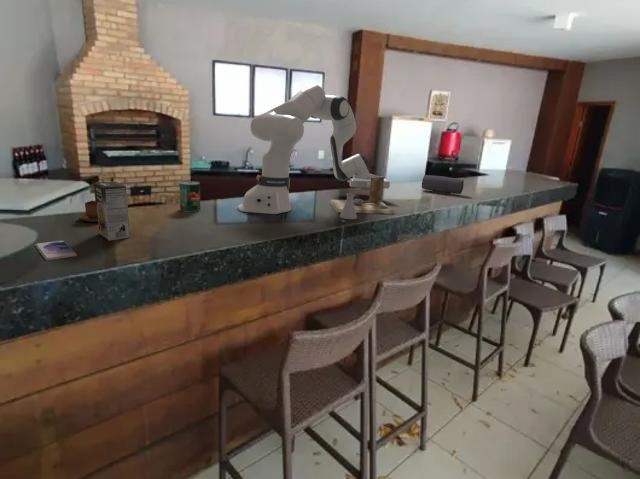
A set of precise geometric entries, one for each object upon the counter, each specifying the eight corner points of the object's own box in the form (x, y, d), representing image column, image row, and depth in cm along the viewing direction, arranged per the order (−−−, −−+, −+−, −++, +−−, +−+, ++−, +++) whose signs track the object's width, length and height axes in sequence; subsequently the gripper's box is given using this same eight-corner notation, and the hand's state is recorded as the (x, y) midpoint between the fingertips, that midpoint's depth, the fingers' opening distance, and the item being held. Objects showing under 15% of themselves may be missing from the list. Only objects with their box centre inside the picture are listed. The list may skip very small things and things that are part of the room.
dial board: (337, 212, 171) (337, 208, 171) (330, 202, 190) (330, 199, 190) (392, 213, 175) (393, 210, 174) (380, 204, 194) (380, 200, 193)
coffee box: (98, 233, 123) (92, 182, 118) (120, 230, 127) (115, 180, 123) (108, 241, 117) (102, 186, 112) (130, 237, 121) (126, 185, 116)
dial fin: (356, 205, 178) (359, 178, 175) (351, 203, 182) (353, 177, 178) (383, 203, 187) (386, 177, 183) (378, 201, 190) (380, 176, 187)
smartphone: (63, 240, 114) (77, 254, 104) (64, 242, 114) (77, 257, 104) (34, 243, 109) (45, 258, 99) (34, 246, 110) (45, 261, 99)
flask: (356, 220, 158) (358, 196, 156) (338, 219, 160) (340, 194, 157) (358, 216, 165) (360, 193, 162) (340, 215, 167) (342, 191, 164)
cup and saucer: (75, 218, 139) (73, 201, 137) (113, 214, 146) (111, 198, 145) (82, 226, 130) (80, 207, 128) (122, 221, 138) (120, 204, 136)
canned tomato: (197, 212, 156) (196, 184, 153) (177, 211, 156) (176, 183, 153) (202, 208, 164) (202, 181, 161) (183, 207, 164) (182, 180, 161)
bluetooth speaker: (462, 194, 236) (465, 178, 233) (458, 196, 228) (461, 179, 225) (425, 189, 247) (427, 173, 244) (420, 191, 240) (422, 174, 237)
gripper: (347, 174, 202) (352, 178, 189) (385, 176, 205) (393, 180, 192) (346, 186, 204) (351, 191, 191) (384, 188, 207) (392, 193, 194)
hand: (373, 185), depth 192 cm, fingers closed
